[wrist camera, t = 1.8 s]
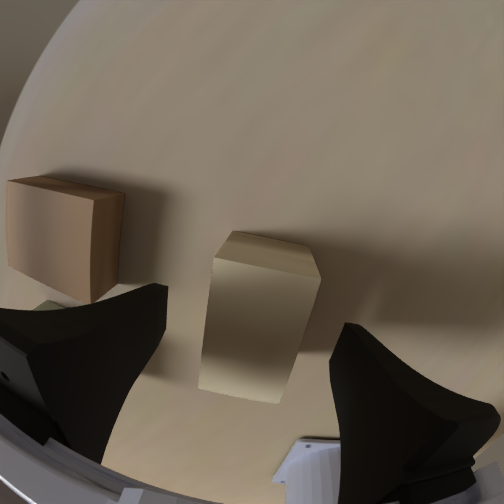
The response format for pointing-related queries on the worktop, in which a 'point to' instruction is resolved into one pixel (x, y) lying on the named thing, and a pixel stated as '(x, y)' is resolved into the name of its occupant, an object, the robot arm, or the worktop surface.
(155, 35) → the worktop surface
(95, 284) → the walnut slab
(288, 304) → the maple brick
